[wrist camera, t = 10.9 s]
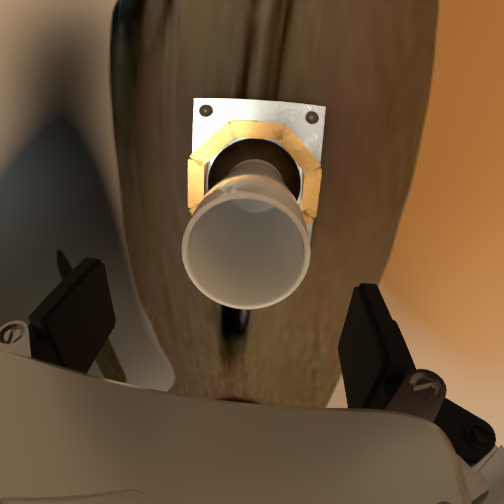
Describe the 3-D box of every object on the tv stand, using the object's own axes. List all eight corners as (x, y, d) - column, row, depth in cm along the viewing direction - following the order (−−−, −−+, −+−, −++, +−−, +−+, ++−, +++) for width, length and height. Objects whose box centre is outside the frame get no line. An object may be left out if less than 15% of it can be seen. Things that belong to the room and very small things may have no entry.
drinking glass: (219, 149, 28) (175, 189, 15) (293, 152, 28) (319, 195, 15) (218, 217, 31) (183, 307, 18) (288, 221, 31) (304, 314, 17)
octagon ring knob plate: (203, 99, 30) (189, 97, 25) (319, 107, 30) (328, 106, 25) (200, 239, 37) (189, 261, 32) (303, 248, 37) (307, 271, 32)
